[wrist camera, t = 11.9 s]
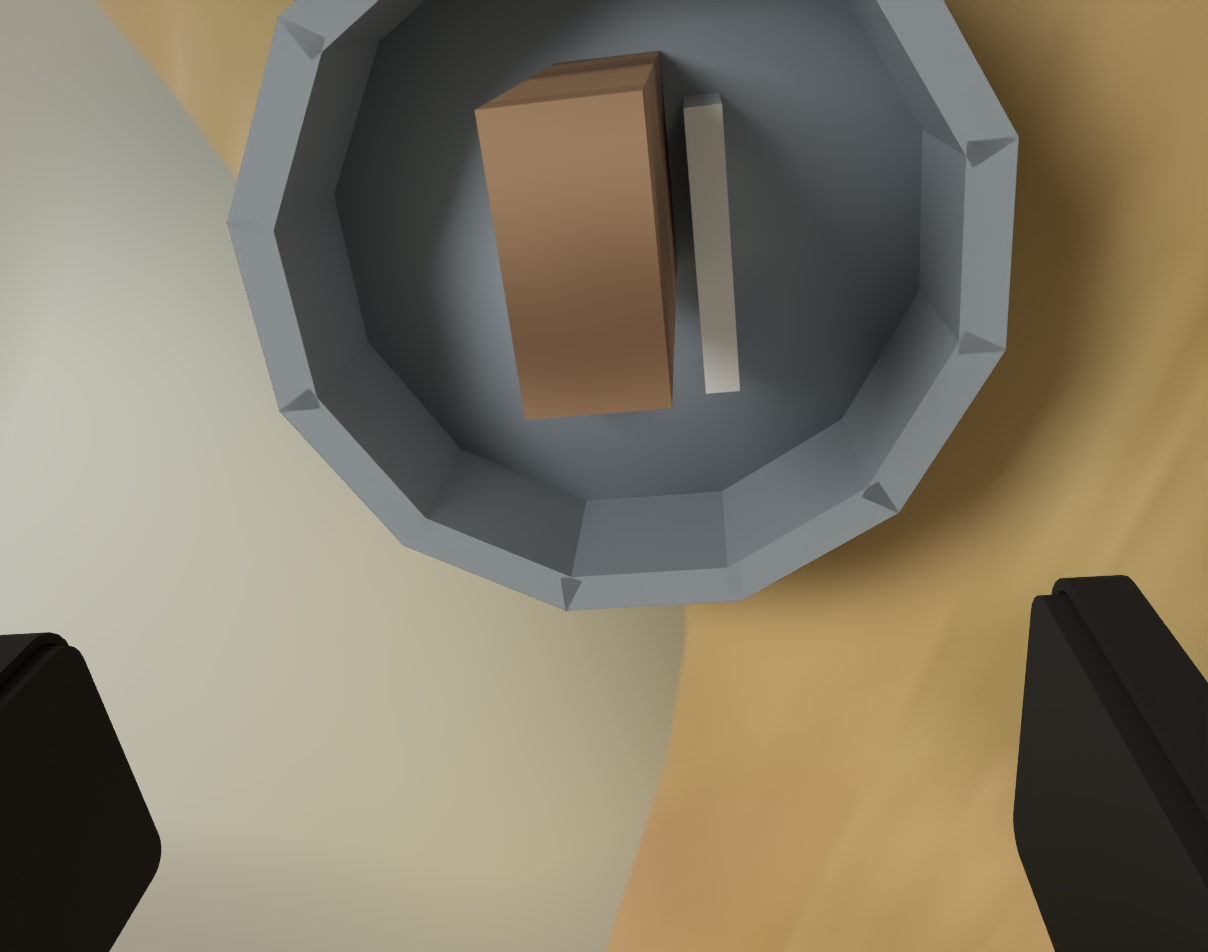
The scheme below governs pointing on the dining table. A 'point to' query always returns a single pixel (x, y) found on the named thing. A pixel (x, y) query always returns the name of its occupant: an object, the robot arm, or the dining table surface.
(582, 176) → the brown rectangular block
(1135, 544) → the dining table surface
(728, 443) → the grey bowl
